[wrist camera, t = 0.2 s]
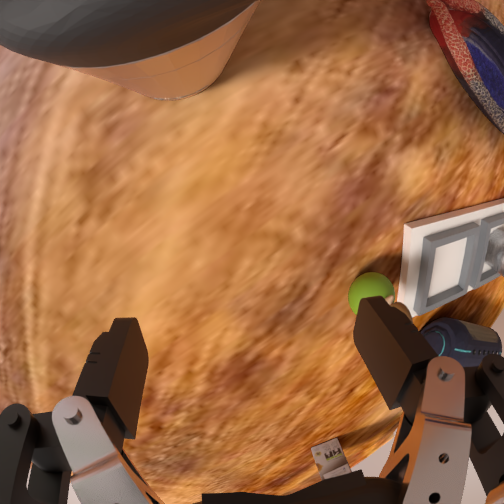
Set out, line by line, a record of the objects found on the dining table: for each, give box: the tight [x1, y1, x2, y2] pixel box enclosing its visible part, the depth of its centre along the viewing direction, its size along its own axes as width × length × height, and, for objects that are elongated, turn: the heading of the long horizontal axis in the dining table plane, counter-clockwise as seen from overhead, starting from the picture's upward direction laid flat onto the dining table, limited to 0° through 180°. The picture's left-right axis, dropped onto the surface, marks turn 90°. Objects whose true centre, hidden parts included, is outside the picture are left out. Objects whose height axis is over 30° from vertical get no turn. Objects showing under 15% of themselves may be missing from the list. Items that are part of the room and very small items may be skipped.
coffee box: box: [311, 438, 352, 480], centre depth 47 cm, size 9×6×16 cm
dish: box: [426, 0, 504, 134], centre depth 21 cm, size 16×31×5 cm, turn 67°
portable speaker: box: [420, 317, 502, 367], centre depth 39 cm, size 25×10×10 cm, turn 68°
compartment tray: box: [397, 198, 504, 317], centre depth 33 cm, size 14×26×3 cm, turn 100°
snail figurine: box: [348, 272, 413, 324], centre depth 28 cm, size 5×6×12 cm
